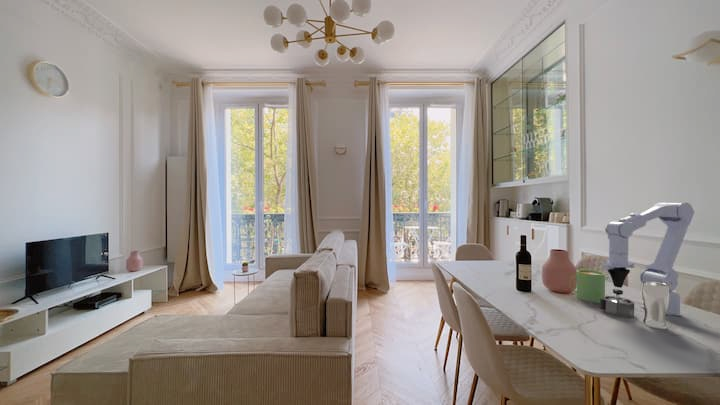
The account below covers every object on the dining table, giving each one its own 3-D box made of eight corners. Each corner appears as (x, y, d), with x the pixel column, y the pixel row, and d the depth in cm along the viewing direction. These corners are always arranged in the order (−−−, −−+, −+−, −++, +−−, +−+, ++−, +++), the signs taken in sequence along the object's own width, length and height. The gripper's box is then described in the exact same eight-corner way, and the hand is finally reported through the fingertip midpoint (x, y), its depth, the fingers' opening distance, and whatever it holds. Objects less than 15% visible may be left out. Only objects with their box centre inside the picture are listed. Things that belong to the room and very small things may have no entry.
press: (626, 310, 123) (626, 297, 123) (637, 318, 115) (638, 305, 114) (596, 307, 126) (596, 294, 126) (605, 315, 118) (605, 301, 118)
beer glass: (674, 330, 104) (674, 287, 104) (650, 329, 106) (651, 285, 106) (658, 322, 111) (659, 281, 111) (636, 320, 113) (637, 280, 112)
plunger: (624, 300, 122) (624, 288, 122) (632, 306, 116) (633, 293, 116) (603, 298, 125) (603, 286, 124) (611, 304, 118) (611, 291, 118)
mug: (603, 297, 139) (603, 271, 139) (606, 304, 130) (606, 276, 130) (569, 292, 146) (569, 267, 146) (570, 298, 137) (570, 272, 137)
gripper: (621, 249, 126) (620, 282, 126) (594, 251, 122) (593, 285, 122) (640, 252, 119) (640, 287, 119) (612, 254, 115) (612, 290, 115)
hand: (618, 286), depth 120 cm, fingers closed
